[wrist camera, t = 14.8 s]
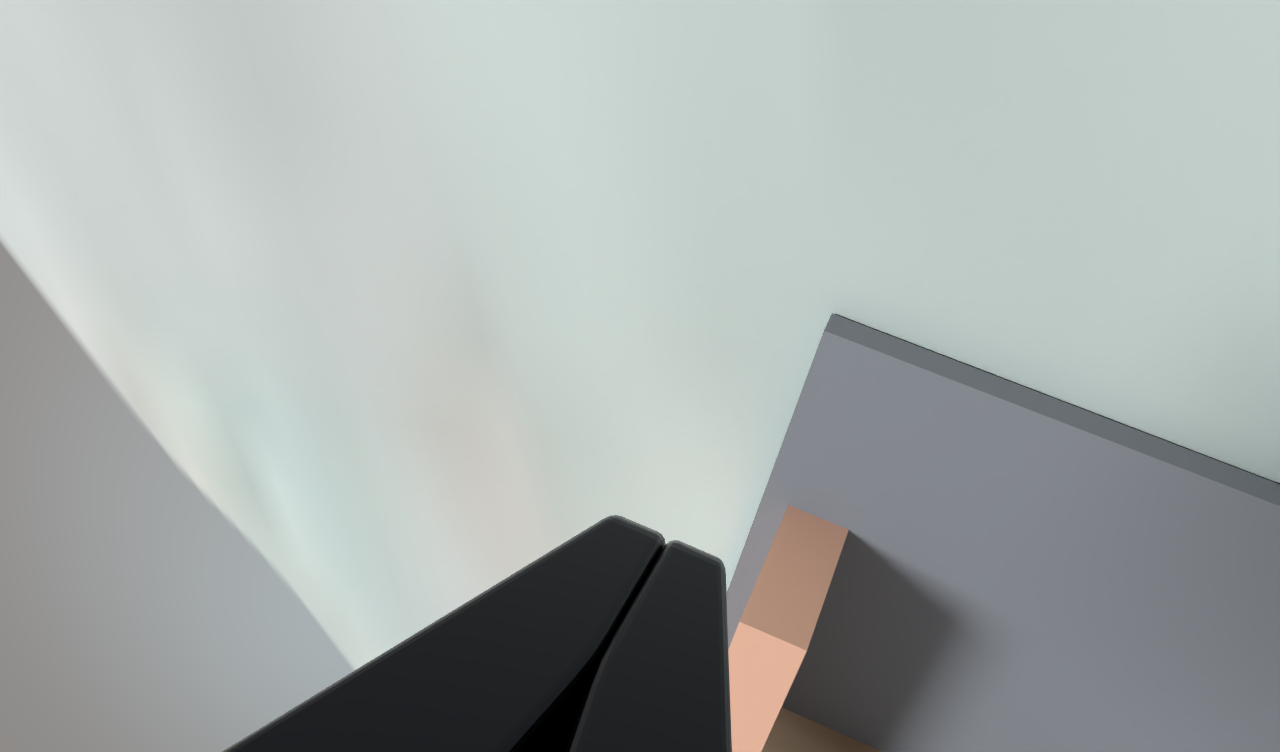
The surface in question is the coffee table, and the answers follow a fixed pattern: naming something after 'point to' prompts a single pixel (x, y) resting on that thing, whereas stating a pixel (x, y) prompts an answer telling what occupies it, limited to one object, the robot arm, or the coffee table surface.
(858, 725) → the slate mat
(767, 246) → the coffee table surface
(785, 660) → the block
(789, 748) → the t block
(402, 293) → the coffee table surface
